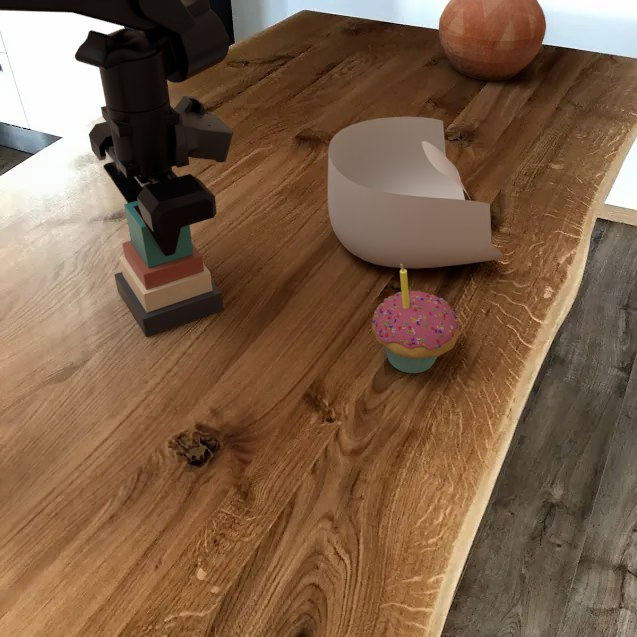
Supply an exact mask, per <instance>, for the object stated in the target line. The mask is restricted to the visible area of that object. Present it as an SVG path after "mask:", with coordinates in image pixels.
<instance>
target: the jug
mask: <svg viewBox="0 0 637 637" xmlns="http://www.w3.org/2000/svg"><path fill="white" fill-rule="evenodd" d="M546 30H547V20H546V15H545V13H544V10H543V7H542V6H541V4H540V2H539V1H538V0H449V1H448V3H447V4H446V6H445V7H444V9H443V10H442V13H441V15H440V16H439V19H438V35H439V36H438V37H439V42H440V45H441V48H442V50H443V52H444V53H445V55H446V57H447V59H448V60H449V62H450V63H451V65H452V66H453V68H454V69H455V70H456V71H457V72H458V73H459V74H461V75H463V76H466V77H467V78H470V79H474V80H478V81H479V80H480V81H484V82H485V81H487V82H488V81H489V82H490V81H491V82H496V81H497V82H498V81H504V80H509V79H511V78H514V77H515V76H516V75H518V74H519V73H520V72H521V71H522V70H523V69H524V68H525V67H526V66H528V65H529V64H530V63H531V62H532V61H533V59H534V58H535V57H536V56H537V55H538V53H539V51H540V50H541V47H542V45H543V42H544V39H545V36H546V32H547V31H546Z"/></svg>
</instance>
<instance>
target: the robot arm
mask: <svg viewBox="0 0 637 637" xmlns="http://www.w3.org/2000/svg"><path fill="white" fill-rule="evenodd" d="M210 7H211V6H210V0H0V12H1V11H4V12H33V13H35V12H36V13H37V12H38V13H39V12H40V13H68V14H69V13H71V14H76V15H78V16H79V15H80V16H83V17H87V18H91V19H94V20H98V21H100V22H101V21H102V22H106V23H109V24H112V25H118V26H120V27H124V28H119V29H117V30H115V31H112V32H110V33H105V32H104V33H103V32H100V31H96V30H94V29H93V30H92V29H91V30H89V31H88V33H87V37H86V39H85V40H84V41H83V42H82V43H81V44H80V45H79V46H78V48H77V50H76V51H75V54H74V59H75V61H76V62H79V63H83V64H85V65H89V66H93V67H96V68H98V70H99V75H100V81H101V86H102V92H103V97H104V102H105V105H104V106H100V111H101V115H102V118H103V119H104V122H103V121H102V122H99V123H95V125H94V126H93V127H92V129H91V130H90V131H89V133H88V137H89V138H88V139H89V142H90V147H91V151H92V153H93V154H94V155H95V157H96V158H97V159H98V160H99V162H100V161H105V160H106V159H107V155H108V156H109V159H110V162H107V163H105V164H103V170H104V171H105V172H106V174H107V176H108V177H109V178H110V180H111V181H112V182H113V184H114V185H115V187H116V188H117V190H118V191H119V193H120V194H121V196H122V197H123V198H124V200H125V202H126V204H127V203H131V202H135V201H138V205H137V206H134V207H133V208H134V210H135V211H136V213H137V214H138V216H139V217H140V219H141V220H142V222H143V223H144V225H145V226H146V228H147V229H148V231H149V232H150V234H151V235H152V237H153V238H154V240H155V242H156V243H157V245H158V246H159V248H160V249H161V251H162V252H163V254H164V255H165V256H170V255H173V254H175V252H176V248H177V244H178V239H179V235H180V231H181V227H184V226H188V225H190V226H191V225H194V224H198V223H201V222H204V221H208V220H211V219H214V218H215V217H216V215H217V212H218V211H217V203H216V202H217V201H216V195H215V194H214V193H213V192H212V191H211V190H210V189H209V187H207V186H206V185H205V184H204V182H203V181H202V180H201V179H200V178H198V177H196V176H195V175H193V174H191V173H188V174H185V175H184V174H183V175H180V176H178V174H176V173H175V172H174V170H173V167H176V168H178V169H179V168H182V167H187V166H190V159H189V158H192V159H198V160H201V159H202V160H209V161H210V160H211V161H215V162H216V163H225V162H227V160H228V159H227V158H228V155H229V151H230V147H231V143H232V139H233V136H234V130H233V129H232V127H230V126H229V125H227V124H226V122H224V121H223V120H222V119H221V118H220V117H218V116H216V115H214V114H212V113H211V111H206V110H205V105H204V104H203V102H201V101H200V99H198V98H197V97H195V96H190V95H183V96H182V98H181V99H180V100H179V102H178V103H177V104H176V105H175V107H173V106H172V105H171V98H170V90H169V85H168V82H169V83H174V84H180V83H182V82H185V81H187V80H190V79H191V78H193V77H195V76H197V75H199V74H201V73H203V72H205V71H206V70H209V69H211V68H213V67H215V66H216V65H219V64H220V63H222V62H223V61H224V60H225V59H226V58H227V56H228V53H229V50H230V35H229V33H227V30H226V28H225V26H224V24H223V21H222V19H221V18H220V16H219V15H218V14H217V13H216V12H215V11H213V10H212V9H211V8H210Z"/></svg>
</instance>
